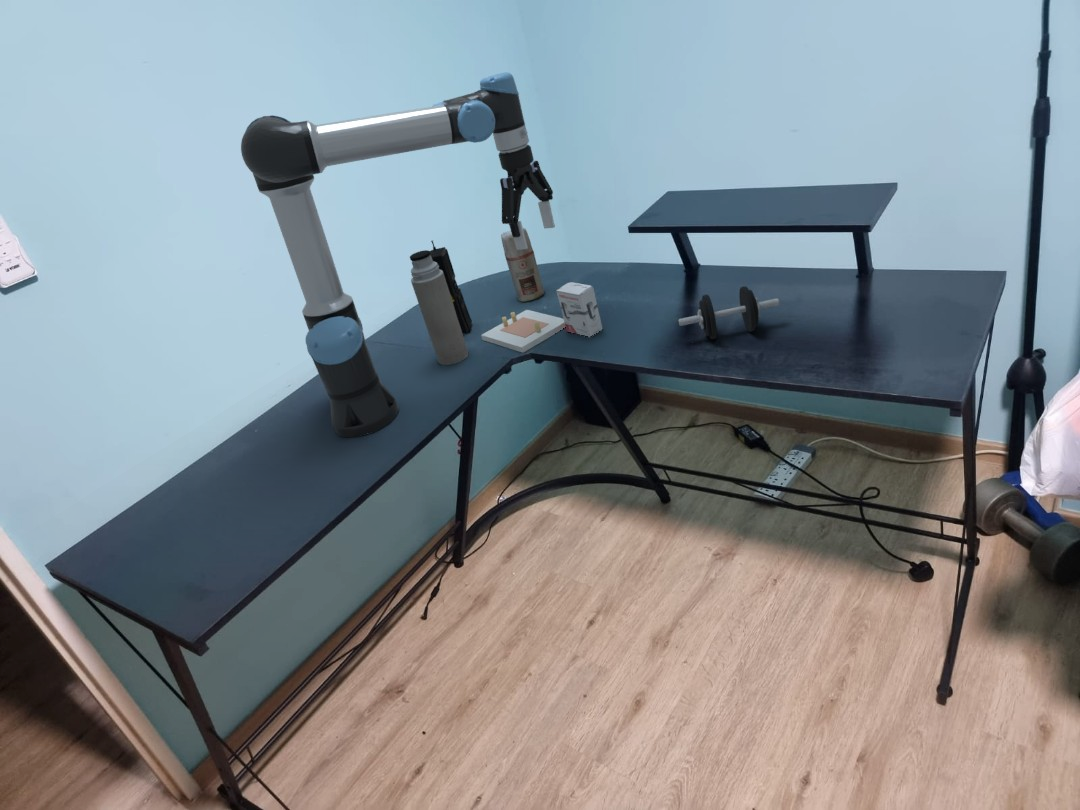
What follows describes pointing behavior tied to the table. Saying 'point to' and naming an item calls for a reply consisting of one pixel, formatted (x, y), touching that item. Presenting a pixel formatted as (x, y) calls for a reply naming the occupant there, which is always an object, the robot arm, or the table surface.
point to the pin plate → (524, 330)
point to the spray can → (522, 268)
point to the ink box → (579, 309)
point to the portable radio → (452, 287)
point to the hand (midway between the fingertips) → (536, 238)
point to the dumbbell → (729, 312)
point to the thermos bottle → (437, 309)
